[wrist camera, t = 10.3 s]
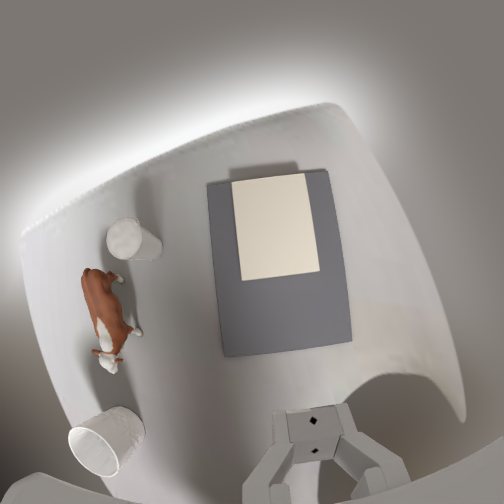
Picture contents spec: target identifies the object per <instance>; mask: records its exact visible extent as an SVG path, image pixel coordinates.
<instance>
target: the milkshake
mask: <svg viewBox="0 0 504 504" xmlns="http://www.w3.org/2000/svg"><path fill="white" fill-rule="evenodd" d="M137 221H138V223H137V222H136V221H134V220H133V219H130V218H122V219H119V220H118V221H116V222H114V223H113V224H112V225H111V226H110V228H109V230H108V233H107V239H106V243H107V247H108V249H109V251H110V253H111V254H112V255H113V256H114V257H116V258H118V259H142V260H155V259H156V258H158V257H160V255H161V253H162V250H163V247H162V242H161V241H160V240H159V239H158V238H157V237H156V236H155V235H153V234H152V233H150V232H149V231H147V230H146V229H144V228H143V227H142V226H141V225H139V220H138V218H137Z"/></svg>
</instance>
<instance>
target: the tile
mask: <svg viewBox="0 0 504 504" xmlns="http://www.w3.org/2000/svg"><path fill="white" fill-rule="evenodd" d="M231 183H232V193H233V202H234V212H235V222H236V231H237V240H238V249H239V258H240V267H241V276H242V281H248V280H256V279H265V278H273V277H281V276H289V275H297V274H304V273H312V272H318V271H320V269H319V261H318V254H317V247H316V240H315V233H314V227H313V220H312V214H311V208H310V202H309V196H308V191H307V185H306V180H305V174H304V173H300V174H291V175H282V176H273V177H265V178H257V179H250V180H243V181H236V182H231Z"/></svg>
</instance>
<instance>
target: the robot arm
mask: <svg viewBox="0 0 504 504" xmlns="http://www.w3.org/2000/svg"><path fill="white" fill-rule="evenodd" d="M272 433H273V445H271V446H270V448H269V449H268V450H267V452H266V453H265V455H264V456H263V458H262V459H261V460H260V462H259V463H258V465H257V466H256V467H255V469H254V470H253V471H252V473H251V474H250V475H249V477H248V478H247V479H246V481H245V482H244V483H243V485H242V504H291V497H290V489H289V485H287V484H285V483H283V484H282V482H283V481H284V479H285V477H286V476H287V474H288V472H289V470H290V468H291V467H292V464H299V463H306V462H312V461H320V460H326V459H334V461H336V463H338V464H339V465H340V466H341V467H342V468H343V469H344V470H345V471H346V472H347V473H348V474H350V475H351V476H352V477H353V478H354V479H355V480H357V482H358V484H357V486H356V487H355V489H354V491H353V492H352V494H351V498H352V500H350V501H346V502H341V503H337V504H504V436H502V437H501V438H499V439H497V440H496V441H494V442H493V443H491V444H489V445H488V446H486V447H484V448H483V449H481V450H479V451H477V452H476V453H474V454H472V455H470V456H468V457H466V458H464V459H463V460H461V461H459V462H457V463H455V464H453V465H450V466H449V467H446V468H444V469H442V470H440V471H438V472H436V473H433V474H431V475H429V476H426V477H424V478H421V479H418V480H416V481H413V482H411V480H410V478H409V475H408V473H407V470H406V468H405V466H404V463H403V460H402V458H400V457H398V456H397V455H395V454H394V453H392V452H391V451H389V450H388V449H386V448H384V447H383V446H381V445H380V444H378V443H377V442H375V441H374V440H372V439H371V438H370V437H368V436H367V435H365V434H364V433H362V432H357V429H356V427H355V424H354V421H353V418H352V415H351V412H350V410H349V407H348V404H346V403H342V404H336V405H328V406H322V407H316V408H310V409H302V410H290V411H277V412H272ZM1 504H140V503H135V502H130V501H126V500H122V499H118V498H114V497H110V496H106V495H103V494H99V493H96V492H93V491H90V490H86V489H83V488H80V487H78V486H75V485H72V484H69V483H66V482H64V481H61V480H59V479H56V478H54V477H52V476H49V475H47V474H44V473H40V472H38V473H34V474H32V475H30V476H27V477H25V478H23V479H21V480H19V481H17V482H15V483H14V484H13V485H12V486H11V487H10V488H9V489H8V491H7V492H6V494H5V496H4V498H3V500H2V502H1Z"/></svg>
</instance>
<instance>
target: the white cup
mask: <svg viewBox="0 0 504 504" xmlns="http://www.w3.org/2000/svg"><path fill="white" fill-rule="evenodd" d="M144 435H145V429H144V426H143V423H142V421H141V420H140V419H139V417H138V416H137V415H136V414H135V413H133V412H132V411H131V410H130V409H127V408H124V407H121V406H119V407H112V408H111V409H109V410H107V411H105V412H103V413H100V414H98V415H97V416H94V417H92V418H91V419H89V420H87V421H85V422H83V423H81V424H79V425H77V426H75V427H73V428H72V429H71V430H70V432H69V436H68V440H69V445H70V448H71V450H72V452H73V454H74V455H75V457H76V458H77V459H78V461H79V462H80V463H81V464H82V465H83V466H84V467H85V468H87V469H88V470H89V471H91V472H93V473H94V474H96V475H99V476H102V477H112V476H114V475H116V474H117V472H118V471H119V470H120V469H121V468H122V466H123V465H124V464H125V463H126V462H127V460H128V459H129V458H130V457H131V455H132V454H133V453H134V451H135V450H136V448H137V447H138V445H139V444H140V443H141V442H142V440H143V439H144Z"/></svg>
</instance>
